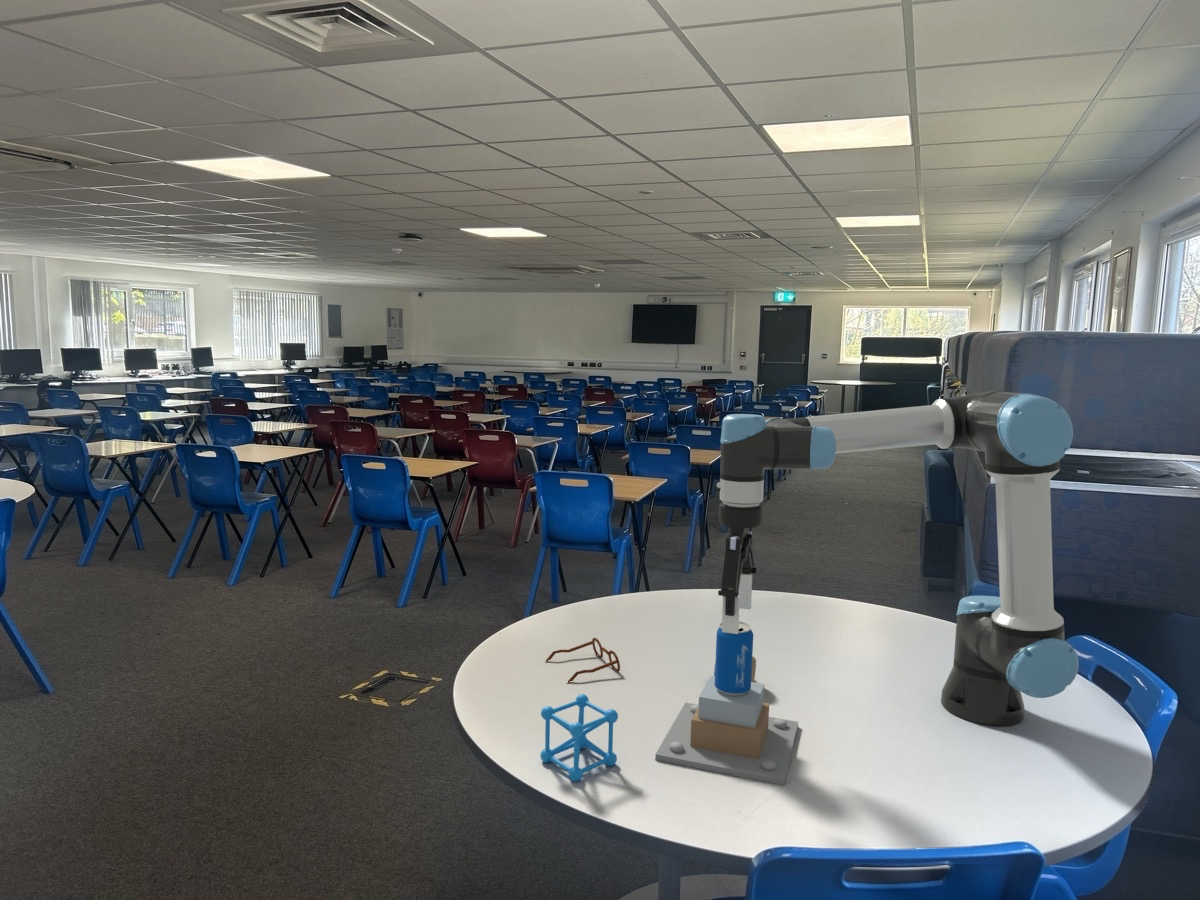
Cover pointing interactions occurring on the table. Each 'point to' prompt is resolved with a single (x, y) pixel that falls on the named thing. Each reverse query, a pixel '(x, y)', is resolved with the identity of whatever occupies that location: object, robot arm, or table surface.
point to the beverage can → (734, 660)
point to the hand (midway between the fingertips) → (737, 619)
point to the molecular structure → (578, 736)
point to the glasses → (595, 653)
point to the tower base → (729, 761)
